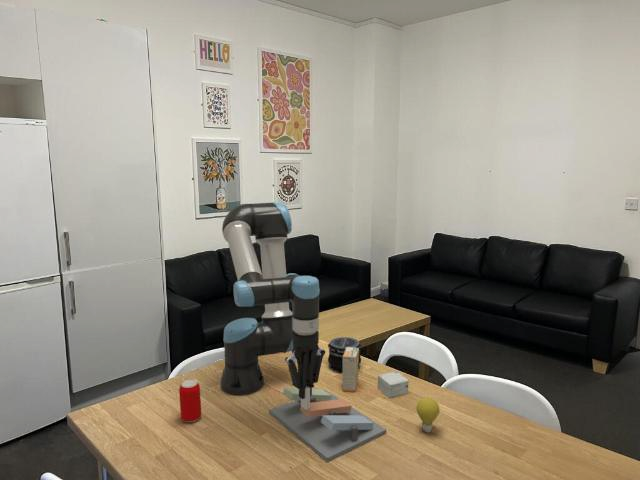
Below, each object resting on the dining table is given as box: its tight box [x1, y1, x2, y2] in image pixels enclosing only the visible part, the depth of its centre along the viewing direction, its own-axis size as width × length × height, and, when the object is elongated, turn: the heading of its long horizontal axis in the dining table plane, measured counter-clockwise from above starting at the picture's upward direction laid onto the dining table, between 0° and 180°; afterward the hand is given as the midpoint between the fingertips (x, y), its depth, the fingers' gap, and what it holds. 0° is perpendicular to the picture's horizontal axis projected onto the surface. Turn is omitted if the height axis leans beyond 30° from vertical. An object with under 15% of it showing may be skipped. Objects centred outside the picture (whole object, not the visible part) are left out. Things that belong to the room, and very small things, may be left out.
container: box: [327, 336, 362, 374], centre depth 183 cm, size 13×13×10 cm
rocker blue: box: [321, 415, 374, 431], centre depth 138 cm, size 6×16×2 cm, turn 127°
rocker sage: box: [282, 387, 332, 401], centre depth 153 cm, size 6×16×2 cm, turn 127°
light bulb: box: [416, 397, 440, 433], centre depth 142 cm, size 7×7×10 cm
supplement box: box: [341, 347, 359, 393], centre depth 168 cm, size 8×5×13 cm, turn 168°
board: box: [269, 389, 387, 463], centre depth 146 cm, size 30×22×5 cm
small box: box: [377, 371, 409, 399], centre depth 165 cm, size 8×8×5 cm
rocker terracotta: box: [300, 398, 353, 417], centre depth 146 cm, size 6×16×2 cm, turn 127°
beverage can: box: [178, 379, 202, 423], centre depth 148 cm, size 6×6×12 cm
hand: (305, 407), depth 140 cm, fingers closed
